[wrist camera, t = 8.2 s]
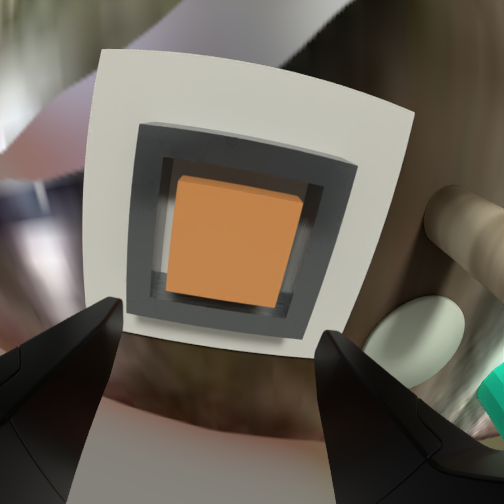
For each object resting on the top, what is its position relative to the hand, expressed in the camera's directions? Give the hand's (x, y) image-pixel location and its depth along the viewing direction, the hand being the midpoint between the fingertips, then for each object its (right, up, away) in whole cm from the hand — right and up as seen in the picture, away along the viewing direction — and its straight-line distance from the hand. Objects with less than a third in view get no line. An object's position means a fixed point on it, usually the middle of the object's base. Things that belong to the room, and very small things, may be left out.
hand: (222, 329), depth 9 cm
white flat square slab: (0, +4, +8) cm, 9 cm away
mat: (+13, -5, +13) cm, 19 cm away
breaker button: (0, +3, +6) cm, 7 cm away
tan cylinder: (+13, +4, +9) cm, 16 cm away
